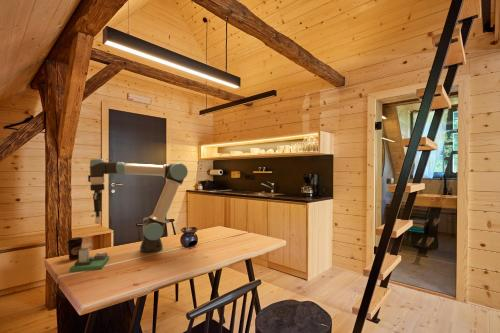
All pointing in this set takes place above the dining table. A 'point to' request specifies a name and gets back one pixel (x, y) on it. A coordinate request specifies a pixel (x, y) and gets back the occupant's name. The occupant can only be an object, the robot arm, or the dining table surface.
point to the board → (91, 263)
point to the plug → (84, 255)
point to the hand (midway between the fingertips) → (98, 221)
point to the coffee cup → (74, 248)
